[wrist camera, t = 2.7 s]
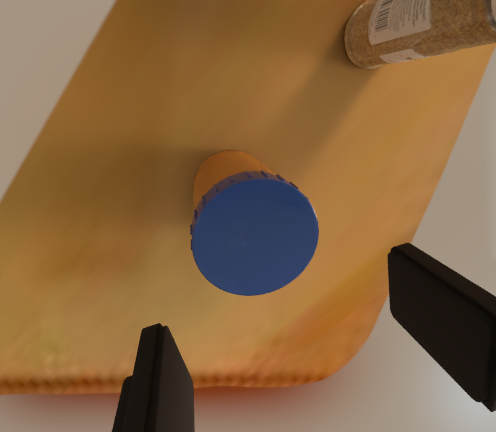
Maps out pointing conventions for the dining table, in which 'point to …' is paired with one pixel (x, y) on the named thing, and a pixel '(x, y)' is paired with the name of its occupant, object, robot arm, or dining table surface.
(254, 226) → the lid
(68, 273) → the dining table surface
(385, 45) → the sprinkles bottle
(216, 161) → the jar
